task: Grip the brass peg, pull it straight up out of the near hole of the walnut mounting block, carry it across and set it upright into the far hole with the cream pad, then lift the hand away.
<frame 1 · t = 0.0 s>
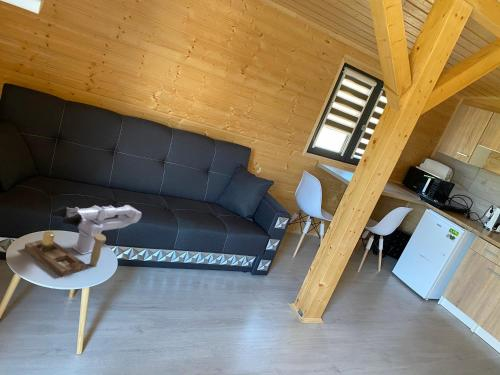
hand: (58, 217, 168), 22 cm above the table, tool horizontal, fingers open, 7 cm apart
peg: (45, 252, 177), resting in mount block
mount block: (54, 259, 175), on the table
handle: (93, 264, 181), on the table
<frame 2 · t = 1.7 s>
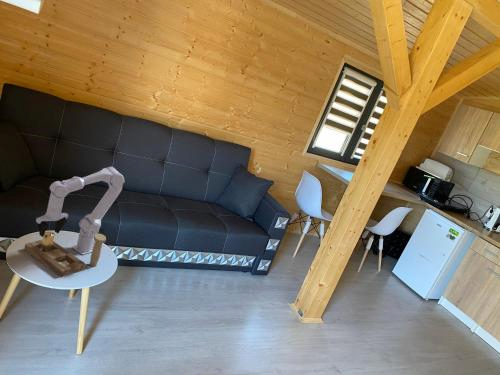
hand: (49, 234, 175), 10 cm above the table, tool pointing down, fingers open, 7 cm apart
nothing on the table moved.
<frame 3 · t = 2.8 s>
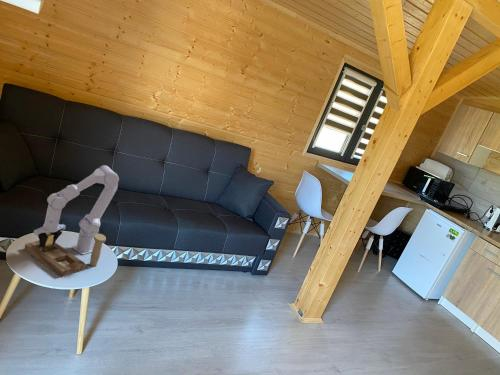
hand: (46, 245, 176), 4 cm above the table, tool pointing down, fingers closed on peg, 4 cm apart
peg: (45, 252, 177), resting in mount block, touching gripper
everything else where it was.
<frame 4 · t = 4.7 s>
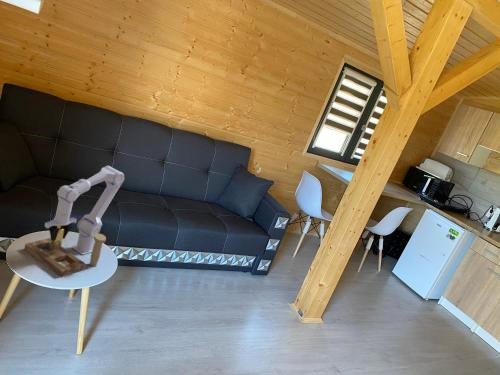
hand: (57, 238, 172), 10 cm above the table, tool pointing down, fingers closed on peg, 4 cm apart
peg: (55, 247, 174), point 6 cm above the table, touching gripper
everything else where it was.
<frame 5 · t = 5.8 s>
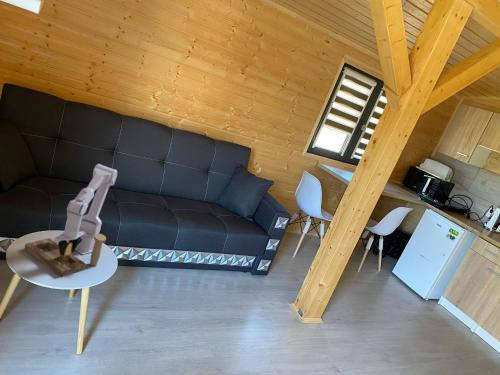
hand: (66, 252, 171), 7 cm above the table, tool pointing down, fingers closed on peg, 4 cm apart
peg: (63, 261, 172), point 2 cm above the table, touching gripper
everything else where it was.
when the fingers open (5 cm above the table, at t = 6.6 s): peg stays where it is, resting on mount block.
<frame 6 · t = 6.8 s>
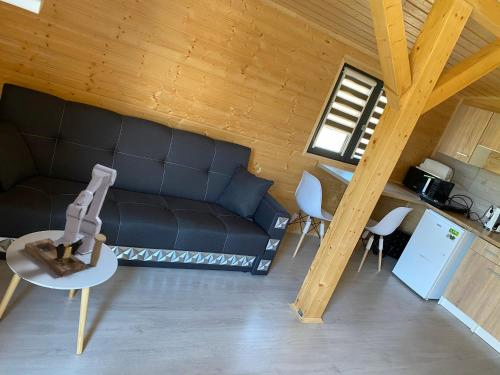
hand: (65, 256, 171), 5 cm above the table, tool pointing down, fingers open, 6 cm apart
peg: (62, 264, 173), resting on mount block
everything else where it was.
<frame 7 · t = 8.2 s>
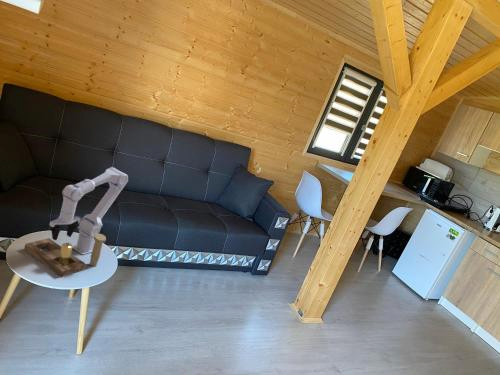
hand: (61, 237, 175), 10 cm above the table, tool pointing down, fingers open, 7 cm apart
nothing on the table moved.
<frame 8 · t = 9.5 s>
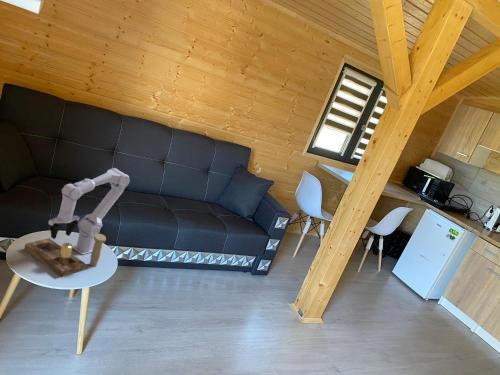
hand: (60, 236, 175), 10 cm above the table, tool pointing down, fingers open, 7 cm apart
nothing on the table moved.
at the end: peg 0.6 cm from the target spot on the mount block, point 0.3 cm above the mount block's base; peg tilted 0°; the gripper is holding nothing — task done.
